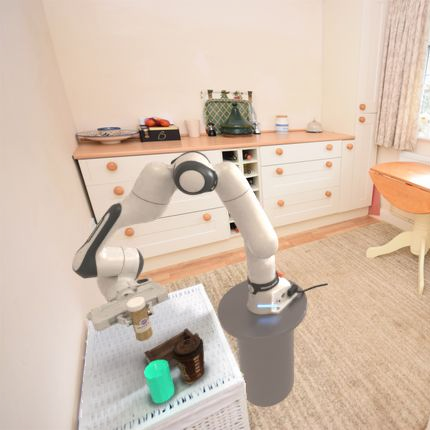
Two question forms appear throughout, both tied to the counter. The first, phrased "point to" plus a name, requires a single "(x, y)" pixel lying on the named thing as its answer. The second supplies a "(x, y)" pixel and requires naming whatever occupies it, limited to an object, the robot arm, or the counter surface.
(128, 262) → the robot arm
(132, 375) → the counter surface
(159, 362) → the candle
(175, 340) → the spice rack
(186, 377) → the coffee cup
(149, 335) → the sprinkles bottle
